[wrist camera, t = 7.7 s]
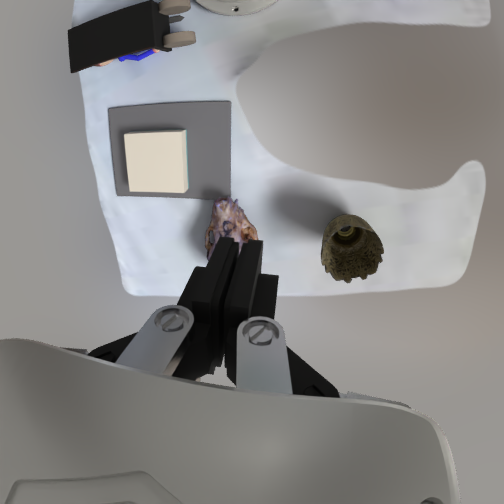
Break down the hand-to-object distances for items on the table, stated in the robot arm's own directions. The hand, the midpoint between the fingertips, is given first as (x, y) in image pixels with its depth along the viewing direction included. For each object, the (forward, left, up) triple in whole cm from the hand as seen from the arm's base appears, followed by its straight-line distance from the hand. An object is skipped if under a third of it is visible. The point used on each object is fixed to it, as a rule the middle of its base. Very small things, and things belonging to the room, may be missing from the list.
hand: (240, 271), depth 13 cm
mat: (+2, -14, -29) cm, 32 cm away
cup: (+11, +10, -29) cm, 33 cm away
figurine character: (-14, -17, -29) cm, 37 cm away
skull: (+13, -5, -29) cm, 32 cm away
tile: (+3, -11, -27) cm, 30 cm away
